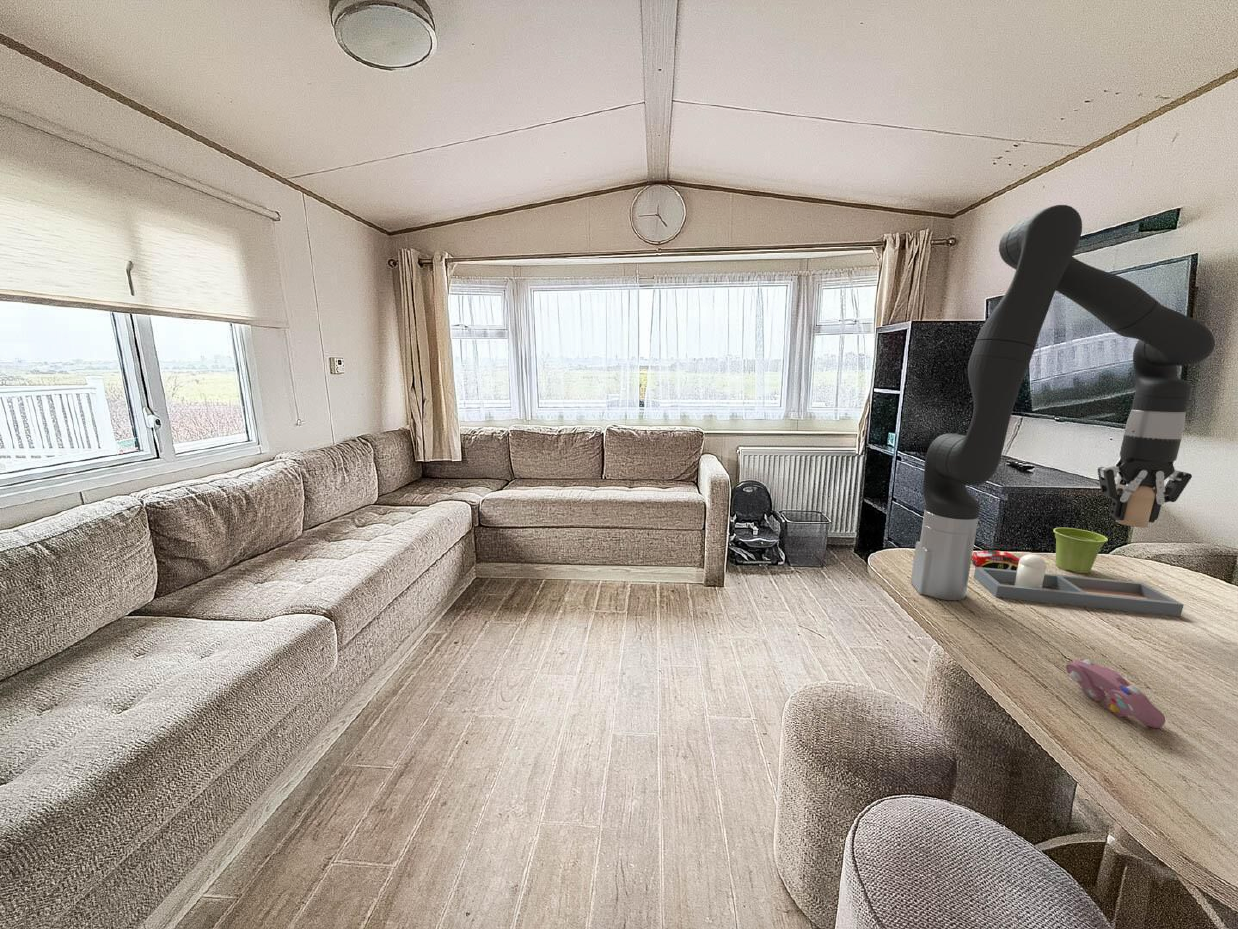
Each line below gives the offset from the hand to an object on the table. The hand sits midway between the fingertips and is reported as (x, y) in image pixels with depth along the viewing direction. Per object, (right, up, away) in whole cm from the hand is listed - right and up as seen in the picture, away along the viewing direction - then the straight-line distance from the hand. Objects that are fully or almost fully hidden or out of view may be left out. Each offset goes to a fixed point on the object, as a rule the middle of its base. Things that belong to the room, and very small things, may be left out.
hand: (1132, 519), depth 97 cm
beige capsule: (0, -1, 0) cm, 1 cm away
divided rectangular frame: (-7, -16, +6) cm, 19 cm away
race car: (-10, -14, +19) cm, 26 cm away
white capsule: (-15, -16, +7) cm, 23 cm away
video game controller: (-33, -23, -28) cm, 49 cm away
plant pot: (+6, -14, +20) cm, 25 cm away
